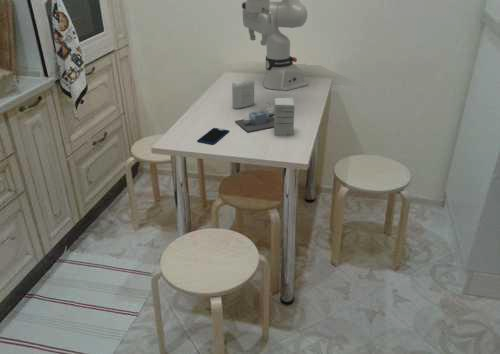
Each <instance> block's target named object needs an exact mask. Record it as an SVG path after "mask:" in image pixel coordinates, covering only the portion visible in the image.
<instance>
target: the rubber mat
mask: <svg viewBox="0 0 500 354" xmlns="http://www.w3.org/2000/svg"><path fill="white" fill-rule="evenodd" d="M244 119H245V118H242V119H238V120H234V123H235V124H236V125H237V126H239V127H240V128H241V129H242V130H244V131H245V132H246V133H247V134H250V133H254V132H259V131H265V130H268V129H274V116H272V117H269V122H268V123H264V124H259V125H250V124H249V122H246V123H245V122H244Z"/></svg>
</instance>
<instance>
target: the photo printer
mask: <svg viewBox="0 0 500 354" xmlns="http://www.w3.org/2000/svg"><path fill="white" fill-rule="evenodd" d="M231 85H232V87H231V89H232V90H231V91H232V94H231V96H232V97H231V99H232V108H233V109H236V110H237V109H243V108H247V107H251V106H254V105H255V80H254V78H253V79H252V78H250V77H249V78H248V77H243V78H240V79H237V80H235V81H233V83H232V84H231Z"/></svg>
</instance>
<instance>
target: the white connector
mask: <svg viewBox="0 0 500 354" xmlns="http://www.w3.org/2000/svg"><path fill="white" fill-rule="evenodd" d="M274 105H275V102H267V103H266V111H269V115H271V114H274Z"/></svg>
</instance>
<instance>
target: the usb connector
mask: <svg viewBox="0 0 500 354" xmlns="http://www.w3.org/2000/svg"><path fill="white" fill-rule="evenodd" d="M272 116H273V117H274V114H271V115H269V111H267V110H259V111H254V112H249V113H248V117H246V118H243V119H244V122H245V123H246V122H249V124H250V125H259V124H264V123H268V122H269V117H272Z"/></svg>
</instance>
